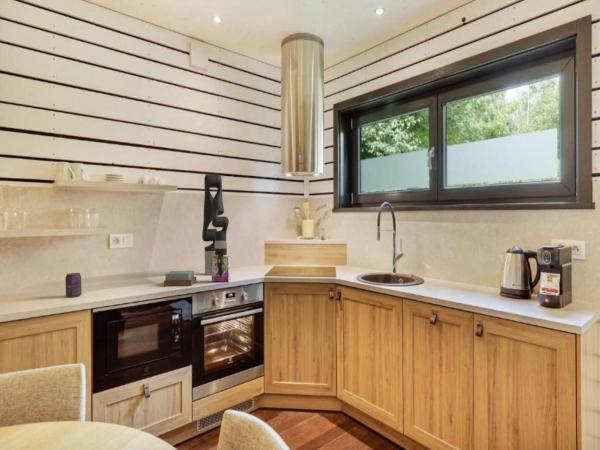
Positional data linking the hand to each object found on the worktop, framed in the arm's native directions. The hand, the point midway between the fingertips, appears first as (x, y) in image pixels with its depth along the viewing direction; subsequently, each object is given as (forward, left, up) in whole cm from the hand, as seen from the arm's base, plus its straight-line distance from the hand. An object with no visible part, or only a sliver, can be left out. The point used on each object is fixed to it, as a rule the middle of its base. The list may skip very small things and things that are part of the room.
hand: (221, 273), depth 228 cm
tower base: (+6, -24, -6) cm, 25 cm away
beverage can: (+35, -72, -5) cm, 80 cm away
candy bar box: (0, 0, -5) cm, 5 cm away
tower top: (+6, -24, -2) cm, 25 cm away
